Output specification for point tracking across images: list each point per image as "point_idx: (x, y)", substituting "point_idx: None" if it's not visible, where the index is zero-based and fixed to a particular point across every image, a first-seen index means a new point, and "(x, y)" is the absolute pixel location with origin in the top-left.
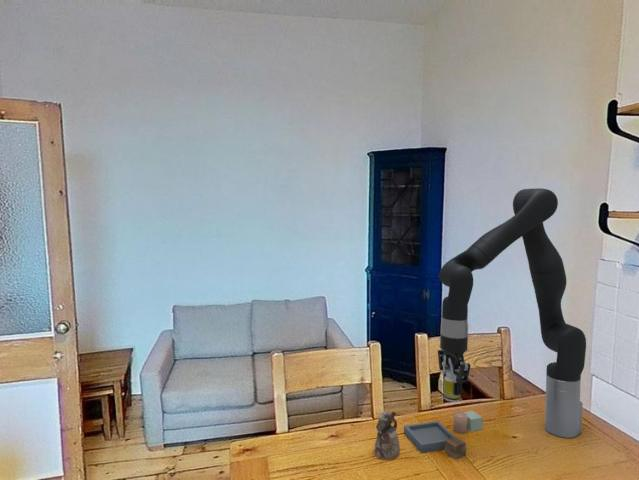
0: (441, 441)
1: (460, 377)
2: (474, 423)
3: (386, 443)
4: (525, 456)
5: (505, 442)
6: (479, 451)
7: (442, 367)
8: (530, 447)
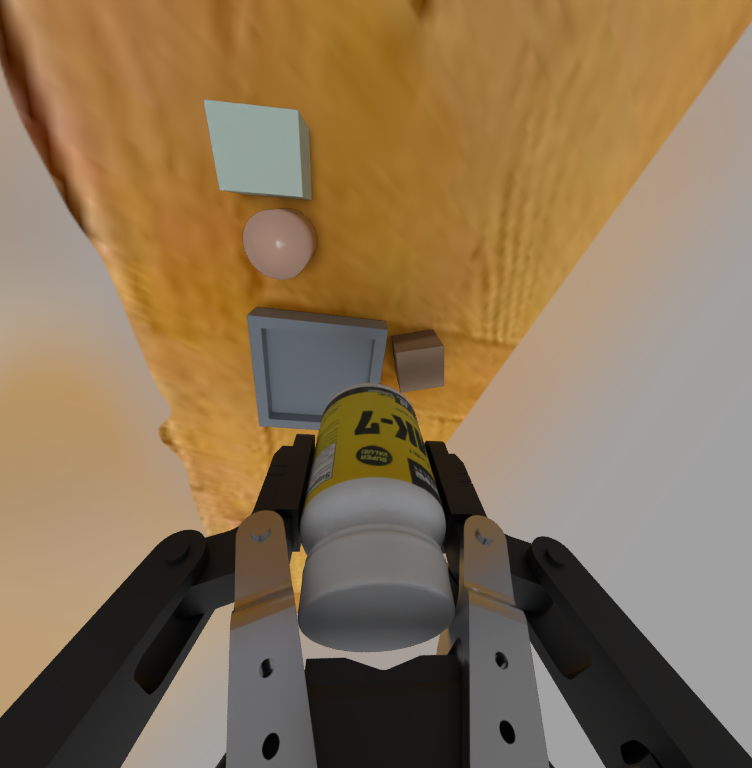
0: (378, 381)
1: (577, 653)
2: (306, 177)
3: None
4: (552, 119)
5: (438, 110)
6: (435, 273)
7: (205, 613)
8: (530, 7)
